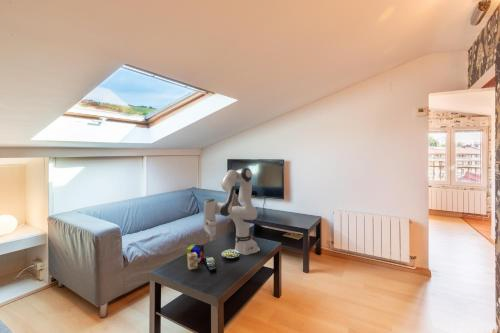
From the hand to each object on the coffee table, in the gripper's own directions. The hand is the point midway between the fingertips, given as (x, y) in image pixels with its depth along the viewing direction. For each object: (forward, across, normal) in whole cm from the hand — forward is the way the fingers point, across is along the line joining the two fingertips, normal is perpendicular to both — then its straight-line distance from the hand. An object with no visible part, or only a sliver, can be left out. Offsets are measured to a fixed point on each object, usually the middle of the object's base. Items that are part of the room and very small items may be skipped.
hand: (209, 238), depth 192 cm
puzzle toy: (+20, -14, -7) cm, 26 cm away
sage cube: (+20, +1, +1) cm, 20 cm away
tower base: (+21, -1, -12) cm, 24 cm away
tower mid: (+16, -1, -12) cm, 20 cm away
